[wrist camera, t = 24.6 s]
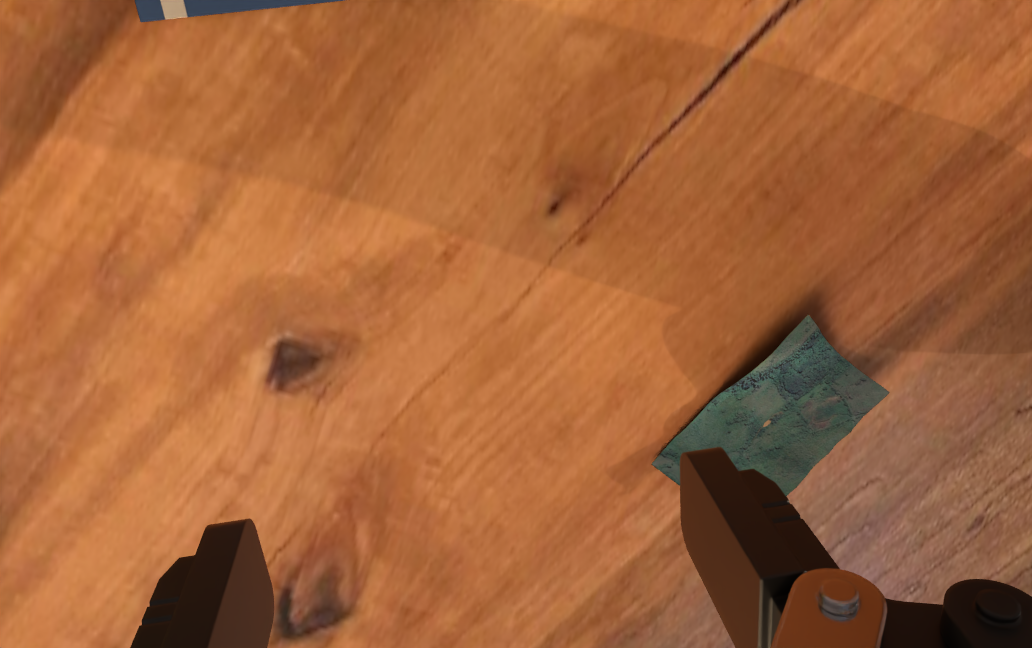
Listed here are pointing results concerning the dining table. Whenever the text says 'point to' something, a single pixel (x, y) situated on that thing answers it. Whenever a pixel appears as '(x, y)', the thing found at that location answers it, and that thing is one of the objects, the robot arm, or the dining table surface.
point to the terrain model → (781, 411)
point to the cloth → (207, 7)
